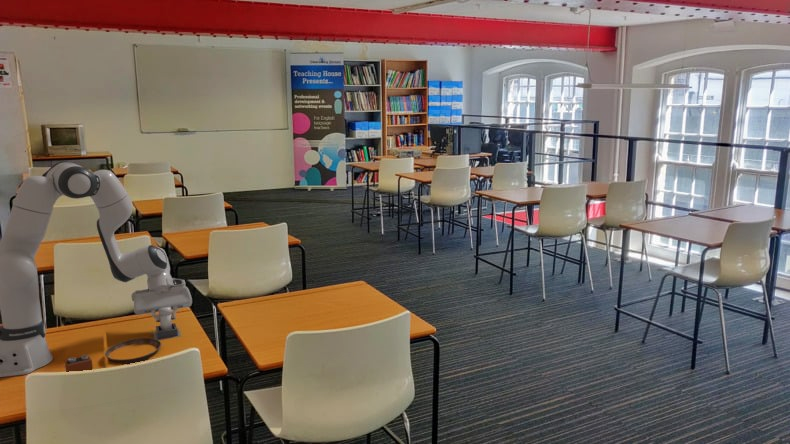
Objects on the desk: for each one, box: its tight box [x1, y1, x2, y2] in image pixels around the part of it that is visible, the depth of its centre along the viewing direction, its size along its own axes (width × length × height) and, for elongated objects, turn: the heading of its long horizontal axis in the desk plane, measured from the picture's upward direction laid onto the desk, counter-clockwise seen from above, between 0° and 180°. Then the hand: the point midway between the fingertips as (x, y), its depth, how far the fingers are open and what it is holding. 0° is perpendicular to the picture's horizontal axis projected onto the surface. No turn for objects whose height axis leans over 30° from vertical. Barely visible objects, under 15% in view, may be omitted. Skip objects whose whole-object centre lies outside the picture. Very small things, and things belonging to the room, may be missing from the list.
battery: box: [64, 354, 94, 373], centre depth 180 cm, size 4×7×10 cm, turn 127°
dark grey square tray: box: [152, 322, 182, 341], centre depth 220 cm, size 9×9×4 cm
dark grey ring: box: [105, 337, 162, 366], centre depth 204 cm, size 18×18×3 cm
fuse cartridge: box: [157, 306, 173, 331], centre depth 219 cm, size 4×4×10 cm
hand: (165, 320), depth 218 cm, fingers closed on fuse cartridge, 4 cm apart
